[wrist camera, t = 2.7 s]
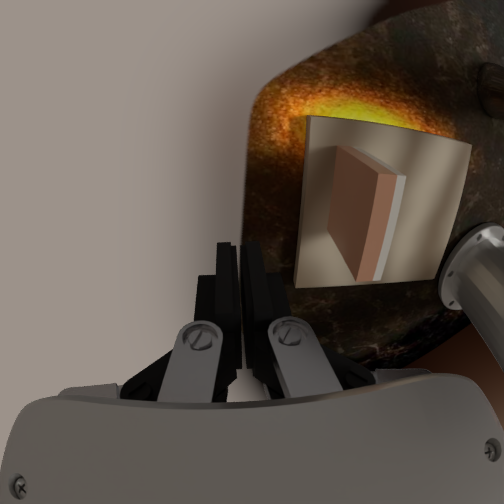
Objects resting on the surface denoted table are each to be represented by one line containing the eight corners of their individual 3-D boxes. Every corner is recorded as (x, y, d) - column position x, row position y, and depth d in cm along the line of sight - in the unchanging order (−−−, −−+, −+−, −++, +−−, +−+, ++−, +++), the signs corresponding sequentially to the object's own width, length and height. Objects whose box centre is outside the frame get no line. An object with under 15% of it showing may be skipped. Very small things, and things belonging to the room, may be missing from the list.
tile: (358, 147, 20) (406, 176, 14) (347, 229, 23) (380, 280, 17) (336, 145, 20) (378, 173, 14) (326, 229, 23) (355, 281, 17)
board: (464, 141, 20) (471, 145, 19) (428, 272, 28) (433, 279, 27) (307, 115, 19) (310, 116, 18) (293, 280, 27) (295, 288, 26)
